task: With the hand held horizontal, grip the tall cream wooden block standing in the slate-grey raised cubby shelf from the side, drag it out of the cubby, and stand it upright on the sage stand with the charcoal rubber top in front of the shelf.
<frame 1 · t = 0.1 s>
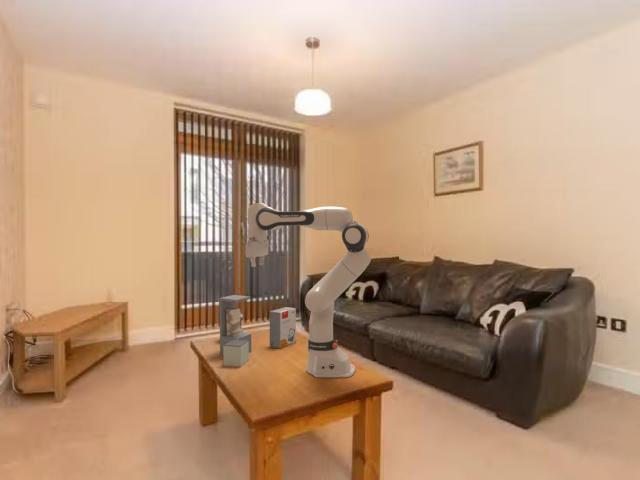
hand: (257, 265, 172), 48 cm above the table, tool pointing down, fingers open, 8 cm apart
block: (233, 334, 193), point 9 cm above the table, touching shelf
apothecary jar: (233, 340, 215), on the table
stand: (236, 362, 177), on the table
hard drive box: (283, 344, 206), on the table
shelf: (235, 352, 192), on the table
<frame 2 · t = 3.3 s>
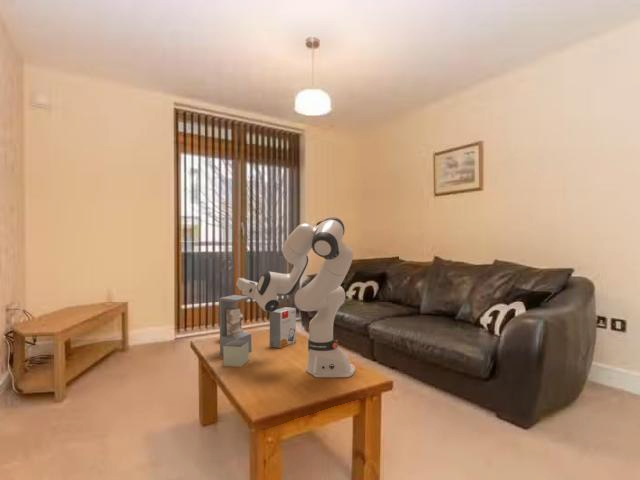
hand: (251, 281, 189), 38 cm above the table, tool pointing upward, fingers open, 8 cm apart
nothing on the table moved.
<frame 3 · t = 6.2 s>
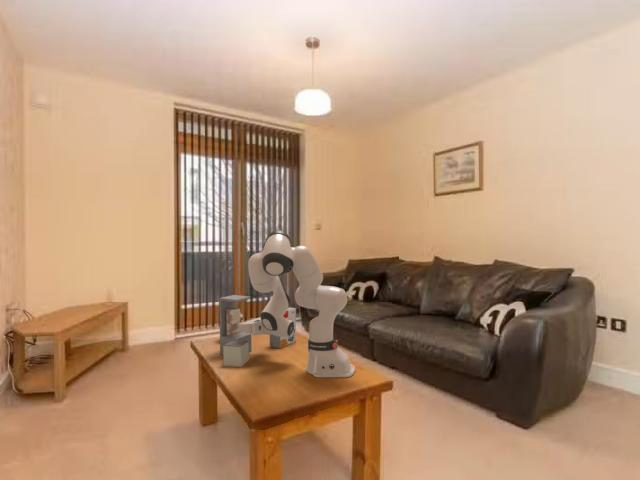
hand: (244, 322, 188), 17 cm above the table, tool horizontal, fingers open, 8 cm apart
nothing on the table moved.
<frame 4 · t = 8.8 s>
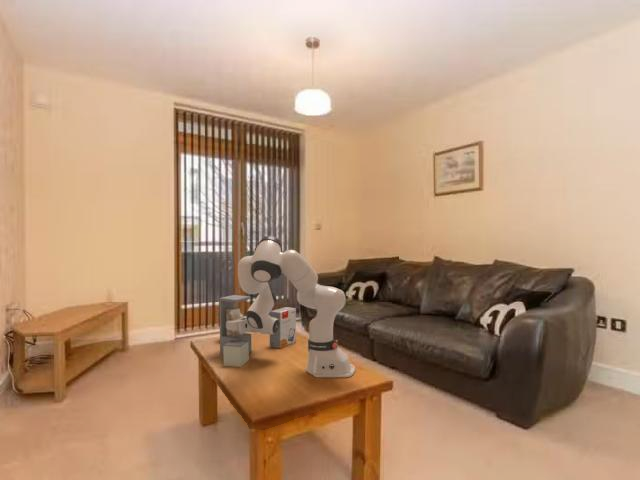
hand: (232, 320, 193), 17 cm above the table, tool horizontal, fingers closed on block, 5 cm apart
block: (233, 334, 193), point 10 cm above the table, touching gripper, shelf
everything else where it was.
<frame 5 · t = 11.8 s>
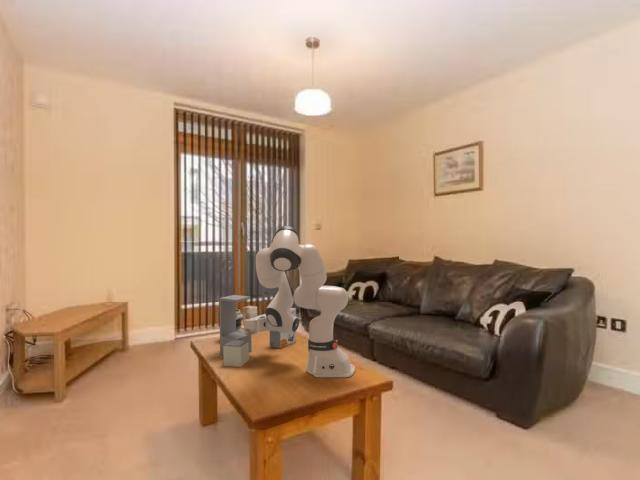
hand: (249, 318, 188), 19 cm above the table, tool horizontal, fingers closed on block, 5 cm apart
block: (250, 333, 187), point 11 cm above the table, touching gripper
everything else where it was.
when the fingers open (19 cm above the table, at t = 14.9 s): block drops 2 cm, resting on stand.
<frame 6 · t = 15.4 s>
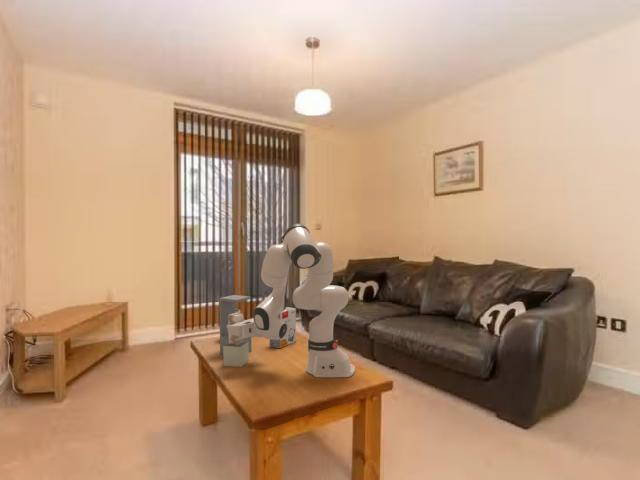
hand: (234, 323, 177), 19 cm above the table, tool horizontal, fingers open, 8 cm apart
block: (236, 342, 177), point 10 cm above the table, touching stand
everything else where it was.
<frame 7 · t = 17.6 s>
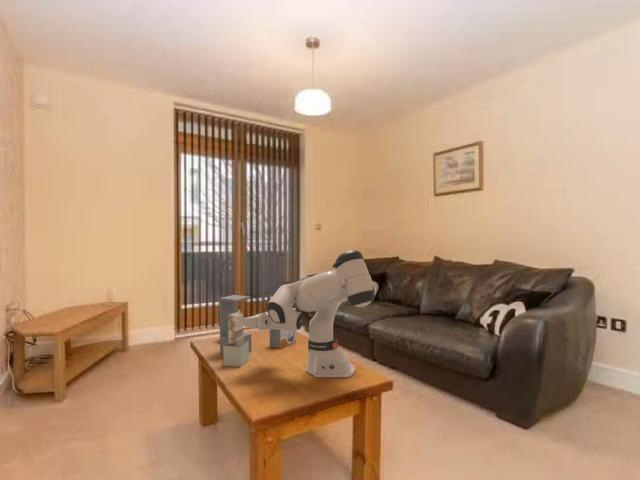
hand: (249, 317, 173), 23 cm above the table, tool horizontal, fingers open, 8 cm apart
nothing on the table moved.
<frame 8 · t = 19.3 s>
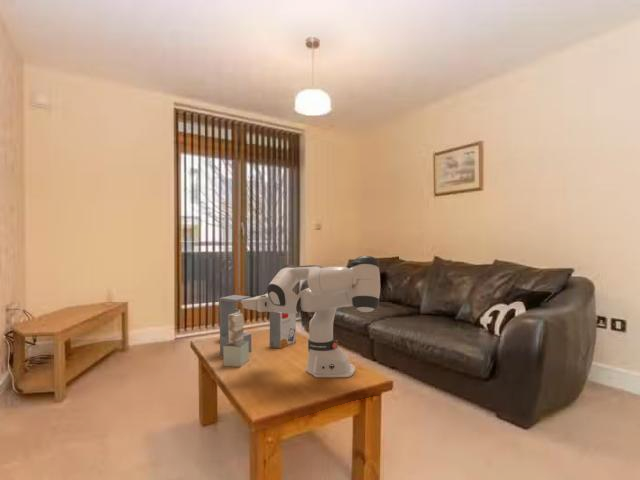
hand: (248, 299, 172), 32 cm above the table, tool horizontal, fingers open, 8 cm apart
nothing on the table moved.
at the end: block 0.0 cm off-centre on the stand, point 9.9 cm above the stand's base; block tilted 0°; the gripper is holding nothing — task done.
